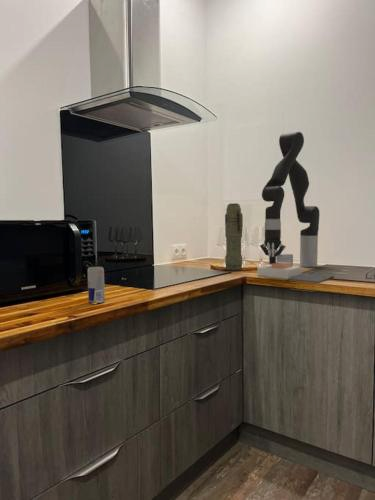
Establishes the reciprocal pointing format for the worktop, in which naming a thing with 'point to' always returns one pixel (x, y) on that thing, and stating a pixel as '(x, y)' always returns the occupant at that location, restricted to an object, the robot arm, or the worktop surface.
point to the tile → (281, 265)
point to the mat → (310, 278)
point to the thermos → (233, 237)
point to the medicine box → (285, 258)
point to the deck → (279, 271)
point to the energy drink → (96, 285)
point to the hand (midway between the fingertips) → (272, 264)
